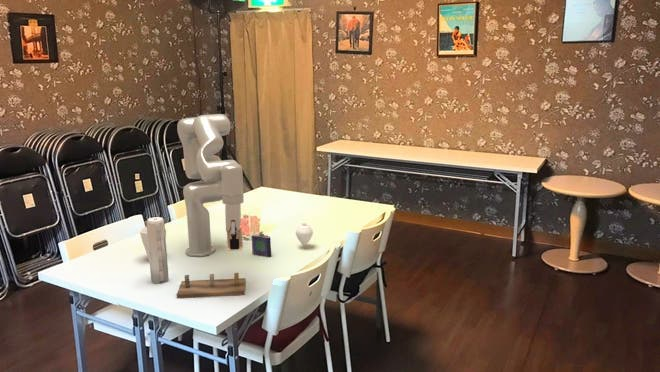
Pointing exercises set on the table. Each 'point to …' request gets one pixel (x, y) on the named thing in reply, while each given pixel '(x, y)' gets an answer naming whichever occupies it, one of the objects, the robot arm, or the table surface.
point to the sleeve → (239, 240)
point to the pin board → (212, 287)
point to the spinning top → (304, 233)
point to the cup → (146, 239)
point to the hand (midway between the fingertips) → (235, 245)
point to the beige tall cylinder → (157, 250)
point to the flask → (261, 245)
